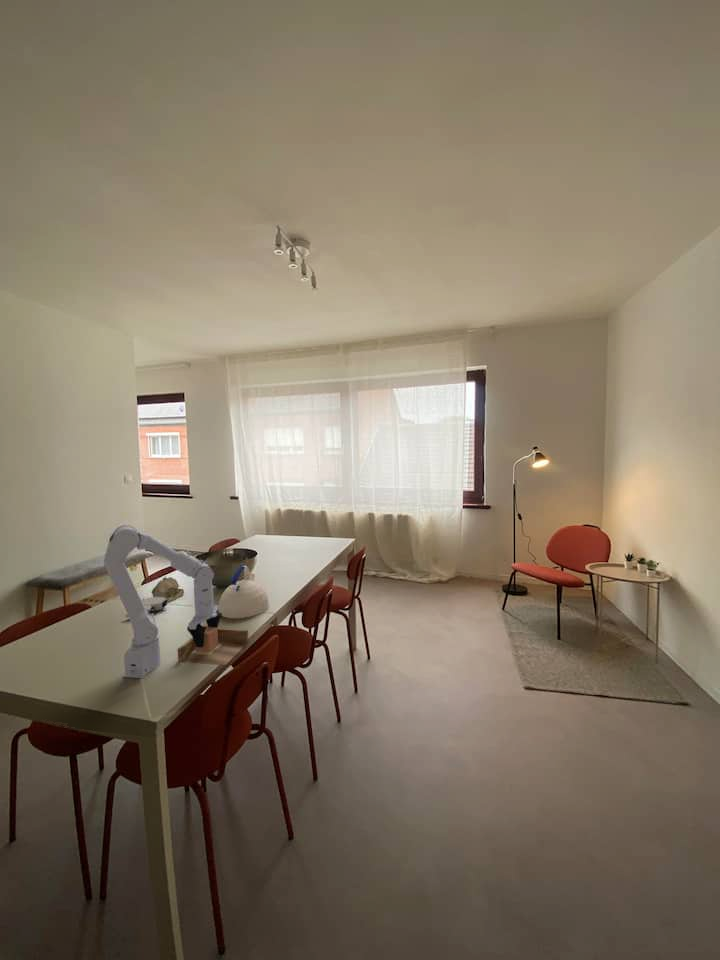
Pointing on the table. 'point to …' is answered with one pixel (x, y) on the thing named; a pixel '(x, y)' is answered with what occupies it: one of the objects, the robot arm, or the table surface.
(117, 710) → the table surface
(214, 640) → the cube
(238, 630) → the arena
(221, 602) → the kettle
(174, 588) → the ceramic model
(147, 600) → the robot toy
